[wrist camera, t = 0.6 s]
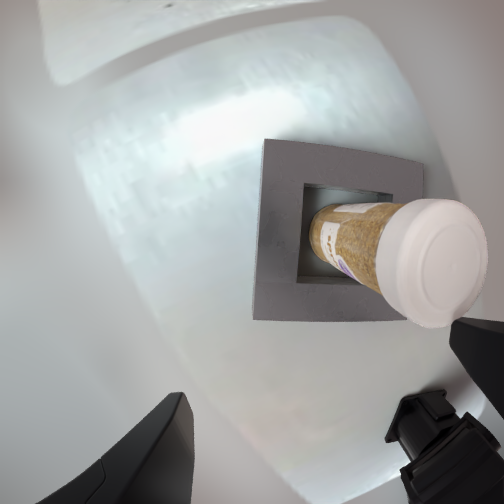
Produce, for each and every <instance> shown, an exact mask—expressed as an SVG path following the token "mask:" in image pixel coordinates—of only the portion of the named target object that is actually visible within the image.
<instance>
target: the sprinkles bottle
mask: <svg viewBox="0 0 504 504" xmlns="http://www.w3.org/2000/svg"><path fill="white" fill-rule="evenodd" d="M309 241H310V245H311V247H312V249H313V251H314V253H315V254H316V255H317V256H318V257H319V258H320V259H321V260H323V261H325V262H327V263H331V264H332V265H333V266H334V267H336V268H337V269H339V270H340V271H342V272H344V273H345V274H347V275H348V276H350V277H352V278H353V279H355V280H356V281H358V282H360V283H361V284H363V285H366V286H367V287H369V288H371V289H373V290H374V291H376V292H377V293H379V294H381V295H382V296H384V298H385V300H386V301H387V302H388V303H389V305H390V306H391V307H393V308H394V309H395V310H396V311H398V312H399V313H401V314H402V315H403V316H405V317H406V318H408V319H409V320H411V321H413V322H414V323H416V324H418V325H420V326H423V327H426V328H441V327H445V326H448V325H450V324H452V322H453V321H454V320H456V319H458V318H460V317H462V316H463V315H464V314H465V313H466V312H467V311H468V310H469V309H470V308H471V306H472V305H473V304H474V302H475V300H476V299H477V297H478V295H479V293H480V291H481V288H482V286H483V283H484V279H485V276H486V271H487V265H488V248H487V240H486V236H485V233H484V230H483V227H482V225H481V223H480V221H479V219H478V218H477V216H476V215H475V214H474V212H473V211H472V210H471V209H470V208H468V207H467V206H466V205H464V204H462V203H460V202H458V201H455V200H449V199H419V200H415V201H412V202H410V203H407V204H398V203H397V204H393V203H360V204H346V205H342V204H333V205H330V206H327V207H324V208H322V209H321V210H320V211H319V212H318V213H316V214H315V216H314V217H313V219H312V221H311V224H310V229H309Z"/></svg>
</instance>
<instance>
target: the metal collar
mask: <svg viewBox="0 0 504 504" xmlns="http://www.w3.org/2000/svg"><path fill="white" fill-rule="evenodd" d="M304 187H314V188H324V189H333V190H341V191H349V192H357V193H365V194H372V195H378V203H393V204H397V203H398V204H407V203H410V202H412V201H415V200H419V199H423V164H422V163H418V162H414V161H409V160H405V159H400V158H396V157H391V156H386V155H381V154H376V153H371V152H365V151H360V150H354V149H348V148H341V147H335V146H328V145H320V144H313V143H304V142H295V141H285V140H274V139H264V143H263V146H262V161H261V177H260V193H259V209H258V225H257V241H256V256H255V272H254V287H253V302H252V313H253V320H271V321H309V322H357V321H393V320H407V318H406V317H405V316H403V315H402V314H401V313H399V312H398V311H396V310H395V309H394V308H393V307H391V306H390V305H389V303H388V302H387V301H386V300H385V298H384V296H382V295H381V294H379V293H377V292H376V291H374V290H373V289H371V288H369V287H367V286H366V285H363V284H361V283H360V282H358V281H356V280H355V279H353V278H346V277H322V276H299V275H297V270H298V259H299V247H300V234H301V220H302V206H303V189H304Z"/></svg>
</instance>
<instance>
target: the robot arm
mask: <svg viewBox="0 0 504 504" xmlns="http://www.w3.org/2000/svg"><path fill="white" fill-rule="evenodd" d="M449 344H450V347H451V349H452V350H453V352H454V353H455V355H456V356H457V358H458V359H459V360H460V362H461V363H462V365H463V366H464V368H465V369H466V371H467V372H468V374H469V375H470V377H471V378H472V379H473V381H474V382H475V383H476V384H477V386H478V387H479V388H480V389H481V391H482V392H483V393H484V394H485V396H486V397H487V398H488V399H489V401H490V402H491V403H492V405H493V406H494V407H495V409H496V410H497V411H498V413H499V414H500V415H501V417H502V418H503V419H504V322H500V321H491V320H483V319H474V318H466V317H460V318H458V319H456V320H454V321H453V322H452V324H451V331H450V339H449ZM446 394H447V391H446V390H445V389H443V390H439V391H435V392H430V393H426V394H421V395H416V396H411V397H406V398H403V399H402V400H401V401H400V403H399V406H398V409H397V411H396V414H395V416H394V419H393V421H392V423H391V426H390V428H389V430H388V433H387V435H386V437H385V441H386V443H391V442H395V441H398V442H399V443H400V445H401V447H402V448H403V450H404V451H405V453H406V455H407V456H408V458H409V459H410V461H411V462H410V463H409V464H408V465H406V466H405V467H402V468H401V469H400V472H401V479H402V481H403V483H404V486H405V489H406V492H407V497H408V503H409V504H504V460H503V458H502V457H501V456H500V455H499V454H498V452H497V451H498V450H499V449H500V448H501V445H500V444H499V442H498V441H497V439H496V438H495V437H494V436H493V434H491V432H490V431H489V430H488V429H487V428H486V427H484V426H483V425H482V424H481V423H480V422H479V421H478V420H477V419H475V418H474V417H473V416H472V415H471V414H470V413H468V412H466V413H465V414H464V415H463V417H462V418H461V419H460V418H459V417H458V416H457V415H456V414H455V412H456V410H455V408H454V407H453V406H452V405H451V404H450V403H449V402H448V401H447V400H446V399H445V397H446ZM404 402H405V403H404ZM194 454H195V453H194V419H193V412H192V410H191V407H190V405H189V403H188V400H187V397H186V396H185V394H184V393H183V392H174V393H170V394H169V395H167V396H166V397H165V398H164V400H162V401H161V402H160V403H159V404H158V405H157V406H156V407H155V408H154V409H153V410H152V411H151V412H150V413H149V414H148V415H147V416H145V417H144V418H143V420H141V421H140V422H139V423H138V424H137V425H136V426H135V427H134V428H133V429H132V430H130V431H129V432H128V433H127V434H126V435H125V436H124V437H123V438H122V439H121V440H120V441H118V442H117V443H116V444H115V445H114V446H113V447H112V448H111V449H109V450H108V451H107V452H106V453H105V454H104V455H103V456H102V457H101V459H98V460H97V461H96V462H95V463H93V464H92V465H91V466H90V467H89V468H87V469H86V470H85V471H84V472H83V473H81V474H80V475H79V476H77V477H76V478H75V479H73V480H72V481H70V482H69V483H68V484H66V485H65V486H63V487H61V488H60V489H58V490H57V491H55V492H54V493H52V494H51V495H49V496H48V497H46V498H44V499H43V500H41V501H39V502H38V503H36V504H191V494H192V483H193V472H194V459H195V458H194V457H195V455H194Z"/></svg>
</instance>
